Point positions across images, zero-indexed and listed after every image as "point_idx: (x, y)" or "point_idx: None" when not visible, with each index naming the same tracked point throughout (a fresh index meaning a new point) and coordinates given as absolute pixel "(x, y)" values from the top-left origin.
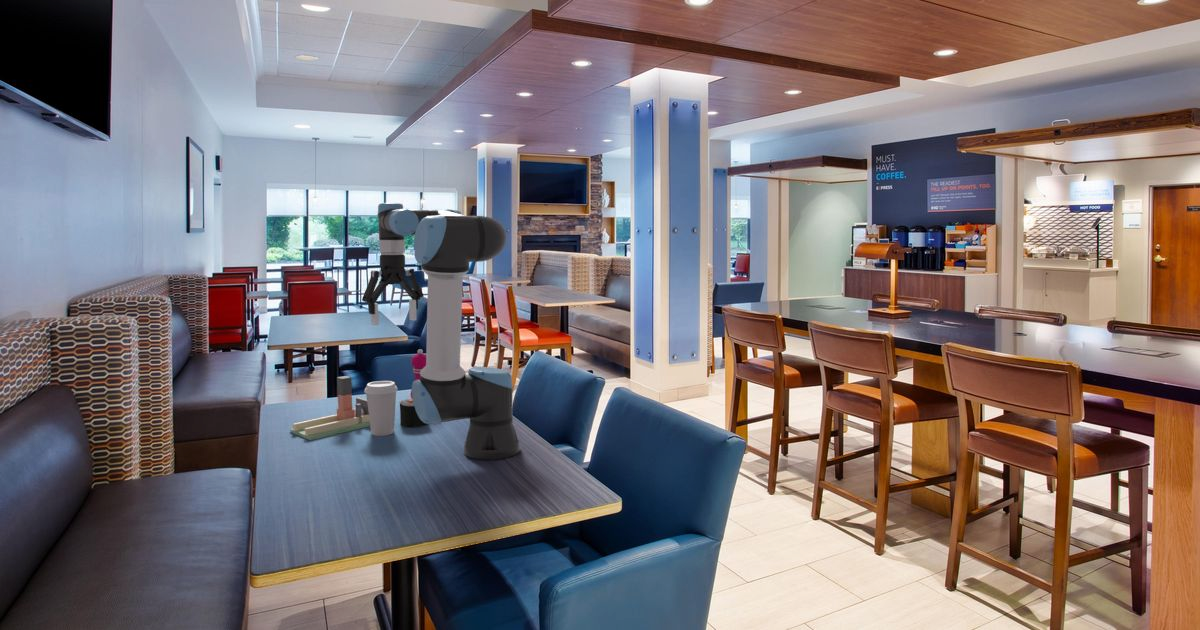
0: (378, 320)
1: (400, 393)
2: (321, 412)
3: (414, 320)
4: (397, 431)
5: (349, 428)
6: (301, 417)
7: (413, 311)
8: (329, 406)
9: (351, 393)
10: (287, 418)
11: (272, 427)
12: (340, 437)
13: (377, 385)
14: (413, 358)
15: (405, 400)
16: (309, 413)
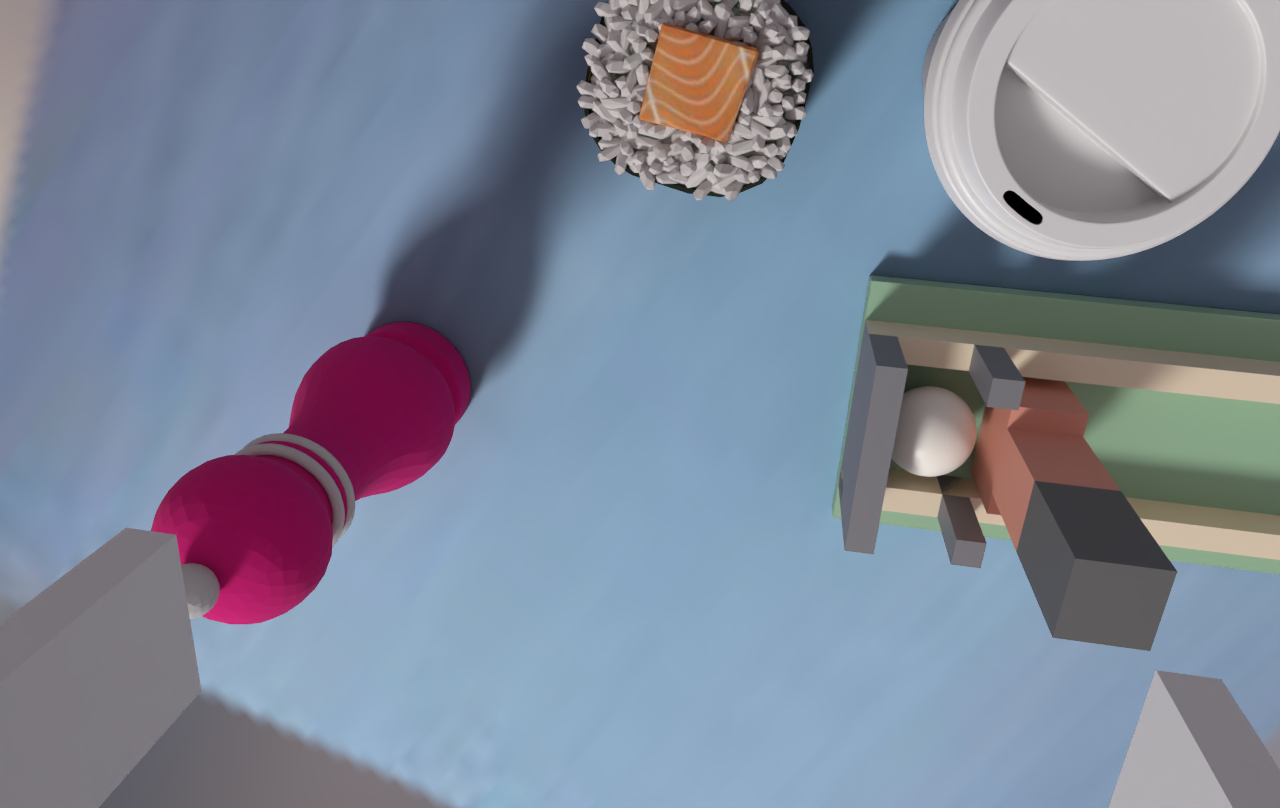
0: (1199, 752)
1: (328, 701)
2: (876, 743)
3: (174, 541)
4: (919, 8)
5: (1097, 302)
6: (1016, 751)
7: (23, 703)
8: (763, 797)
9: (1038, 482)
10: (1073, 792)
11: (1263, 721)
12: (1243, 220)
13: (1175, 94)
14: (297, 572)
15: (721, 163)
16: (930, 776)
